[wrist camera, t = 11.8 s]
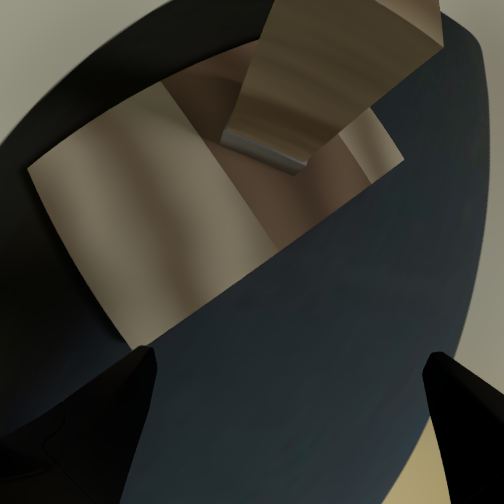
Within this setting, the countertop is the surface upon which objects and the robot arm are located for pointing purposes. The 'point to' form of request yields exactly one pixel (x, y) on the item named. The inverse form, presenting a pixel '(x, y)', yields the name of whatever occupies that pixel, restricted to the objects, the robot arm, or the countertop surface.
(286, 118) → the tall wooden post
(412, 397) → the countertop surface
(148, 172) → the subfloor panel
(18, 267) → the countertop surface
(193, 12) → the countertop surface
